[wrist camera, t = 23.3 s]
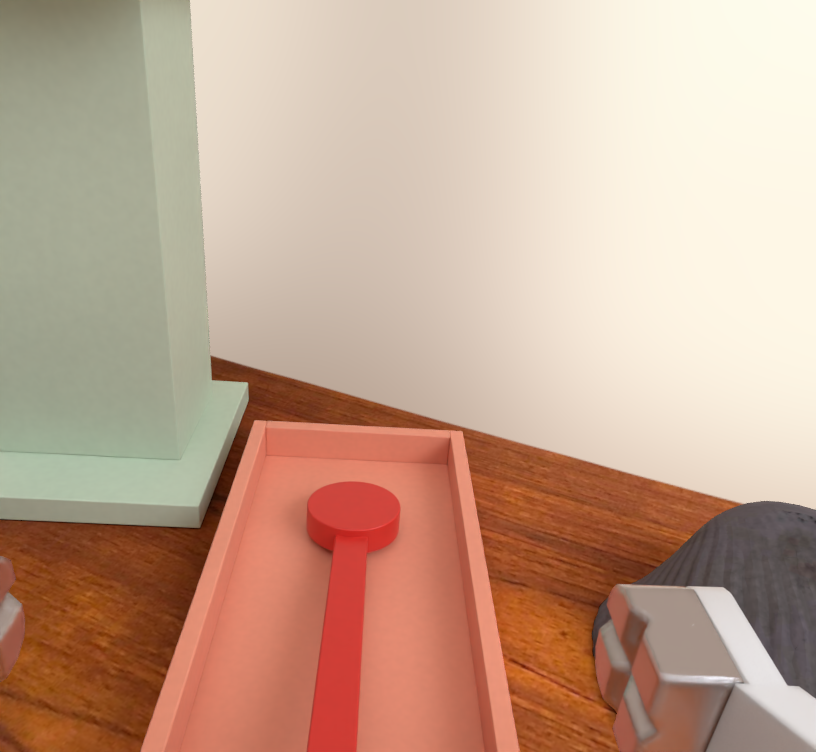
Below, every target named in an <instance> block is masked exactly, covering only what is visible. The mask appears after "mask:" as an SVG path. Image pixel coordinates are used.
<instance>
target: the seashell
mask: <svg viewBox="0 0 816 752" xmlns="http://www.w3.org/2000/svg"><path fill="white" fill-rule="evenodd" d="M632 585H659V586H683V587H687V586H697V587H723V588H725V589H726V590H727V591H729V592H730V593H731V594H732V596H733V597H734V599H735V601H736V602H737V604H738V605H739V607H740V609H741V610H742V612H743V614H744V615H745V617H746V619H747V620H748V622H749V623H750V625H751V627H752V628H753V630H754V632H755V633H756V635H757V636H758V638H759V640H760V641H761V643H762V645H763V646H764V648H765V650H766V651H767V653H768V654H769V656H770V658H771V659H772V661H773V663H774V664H775V666H776V668H777V669H778V671H779V672H780V674H781V676H782V677H783V679H784V681H785V682H786V684H787V685H788V686H799V687H800V688H802V689H803V690H805V691H806V692H807V693H809V694H810V695H811V696H813V697H814V698H815V699H816V510H814V509H811V508H807V507H803V506H800V505H795V504H789V503H783V502H771V501H761V502H753V503H747V504H743V505H740V506H737V507H734V508H732V509H729V510H727V511H725V512H723V513H721V514H719V515H717V516H716V517H714V518H713V519H711V520H710V521H709V522H707V523H706V524H705V525H704V526H702V527H701V528H700V529H699V530H698V531H697V532H696V533H695V534H694V535H693V536H692V537H691V538H690V539H689V540H688V541H687V542H685V543H684V544H683V545H682V546H681V547H680V548H679V550H677V551H676V552H675V553H674V554H673V555H672V556H671V557H669V558H668V559H667V560H666V561H665V562H663V563H662V564H661V565H660V566H658V567H657V568H656V569H655V570H653V571H652V572H651V573H650V574H648V575H647V576H645V577H643V578H642V579H640V580H638V581H636V582H634V583H632ZM608 599H609V597H608V598H607V599H606V600H605V601H604V602H603V603H602V604H601V605H600V607H599V611H598V614H597V616H596V619H595V621H594V629H593V631H592V639H593V656H594V657H595V646H596V642H597V638H598V634H599V630H600V628H601V627H602V626H603V625H605V624H606V623H607V622H608V621H610V620H611V619H612V618H611V615H610V613H609V610H608V607H607V602H608Z"/></svg>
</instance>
